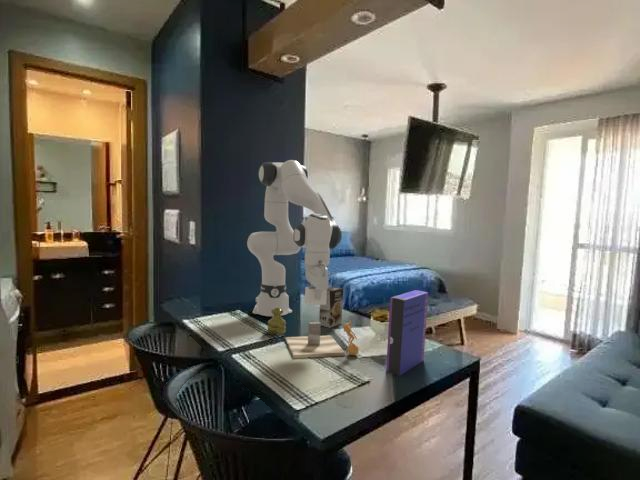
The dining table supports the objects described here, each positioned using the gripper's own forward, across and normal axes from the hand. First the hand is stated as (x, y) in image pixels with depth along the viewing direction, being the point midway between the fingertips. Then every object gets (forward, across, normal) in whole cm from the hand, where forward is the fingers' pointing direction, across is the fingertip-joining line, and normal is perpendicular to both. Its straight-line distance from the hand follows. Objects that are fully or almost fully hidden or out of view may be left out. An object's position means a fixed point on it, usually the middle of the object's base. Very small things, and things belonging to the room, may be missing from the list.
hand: (315, 297), depth 138 cm
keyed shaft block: (+19, 0, 0) cm, 19 cm away
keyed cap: (+2, 0, 0) cm, 2 cm away
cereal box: (+19, -20, -26) cm, 38 cm away
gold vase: (+19, +19, +11) cm, 29 cm away
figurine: (+19, -9, -11) cm, 24 cm away
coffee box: (+19, +27, -14) cm, 36 cm away
